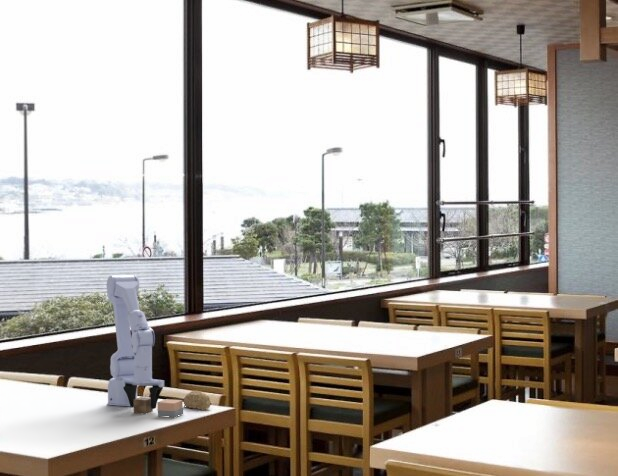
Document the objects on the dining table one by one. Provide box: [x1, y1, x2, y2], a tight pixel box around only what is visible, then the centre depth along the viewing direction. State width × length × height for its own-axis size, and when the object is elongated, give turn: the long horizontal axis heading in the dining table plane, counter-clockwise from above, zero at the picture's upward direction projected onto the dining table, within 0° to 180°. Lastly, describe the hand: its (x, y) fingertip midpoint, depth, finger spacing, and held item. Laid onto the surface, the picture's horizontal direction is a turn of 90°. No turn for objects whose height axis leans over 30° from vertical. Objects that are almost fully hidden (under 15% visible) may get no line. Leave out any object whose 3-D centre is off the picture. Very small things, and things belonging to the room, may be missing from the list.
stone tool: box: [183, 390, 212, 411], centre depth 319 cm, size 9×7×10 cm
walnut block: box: [133, 396, 154, 415], centre depth 312 cm, size 4×4×4 cm
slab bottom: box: [157, 407, 184, 418], centre depth 306 cm, size 6×6×2 cm
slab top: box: [156, 398, 183, 411], centre depth 306 cm, size 6×6×2 cm
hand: (143, 407), depth 312 cm, fingers open, 7 cm apart
